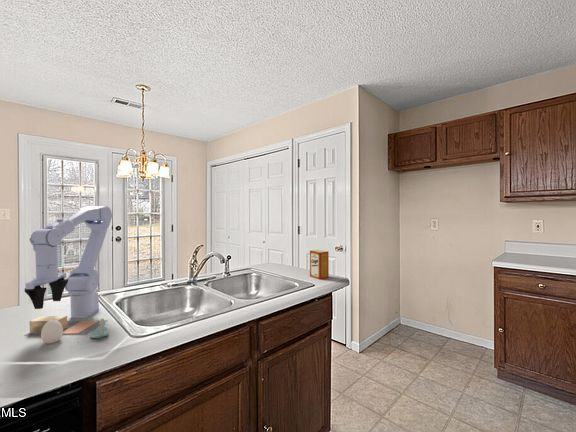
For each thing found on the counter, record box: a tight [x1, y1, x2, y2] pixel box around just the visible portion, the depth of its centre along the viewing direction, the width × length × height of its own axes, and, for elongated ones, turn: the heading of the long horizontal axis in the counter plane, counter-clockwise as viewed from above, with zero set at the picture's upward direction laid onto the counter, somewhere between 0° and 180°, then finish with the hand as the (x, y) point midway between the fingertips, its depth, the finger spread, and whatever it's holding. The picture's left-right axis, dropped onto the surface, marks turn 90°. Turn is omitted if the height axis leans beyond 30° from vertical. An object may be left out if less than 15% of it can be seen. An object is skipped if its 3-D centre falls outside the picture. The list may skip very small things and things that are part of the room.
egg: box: [40, 320, 63, 345], centre depth 90 cm, size 5×5×7 cm
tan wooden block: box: [28, 315, 68, 333], centre depth 98 cm, size 9×4×4 cm, turn 91°
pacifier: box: [86, 318, 110, 342], centre depth 93 cm, size 7×6×6 cm
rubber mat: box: [23, 319, 108, 337], centre depth 100 cm, size 12×20×1 cm, turn 91°
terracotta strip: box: [63, 320, 99, 334], centre depth 100 cm, size 10×6×1 cm, turn 1°
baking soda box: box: [309, 249, 330, 280], centre depth 173 cm, size 10×6×16 cm
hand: (48, 304), depth 98 cm, fingers open, 7 cm apart
